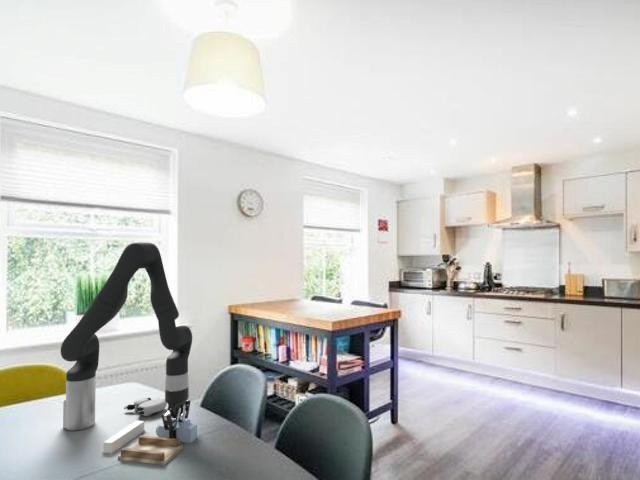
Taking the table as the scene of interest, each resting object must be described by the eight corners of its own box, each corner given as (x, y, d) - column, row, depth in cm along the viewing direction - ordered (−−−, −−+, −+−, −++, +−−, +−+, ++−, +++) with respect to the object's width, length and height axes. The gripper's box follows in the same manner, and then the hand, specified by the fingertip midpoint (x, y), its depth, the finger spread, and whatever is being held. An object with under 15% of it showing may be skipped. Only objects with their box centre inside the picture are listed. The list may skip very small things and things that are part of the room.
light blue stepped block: (153, 438, 131) (153, 421, 131) (160, 433, 135) (160, 416, 135) (190, 443, 128) (190, 425, 128) (197, 437, 132) (197, 420, 132)
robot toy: (121, 415, 152) (145, 421, 145) (121, 403, 153) (144, 408, 145) (149, 405, 163) (172, 409, 155) (149, 394, 163) (172, 397, 155)
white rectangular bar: (103, 453, 122) (103, 442, 122) (136, 430, 138) (136, 420, 138) (111, 454, 122) (111, 443, 122) (144, 431, 137) (144, 421, 137)
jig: (117, 459, 118) (117, 449, 118) (138, 444, 127) (138, 434, 127) (164, 465, 115) (164, 454, 115) (182, 448, 124) (182, 439, 124)
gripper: (178, 378, 140) (178, 427, 139) (154, 392, 126) (153, 446, 125) (197, 380, 138) (197, 428, 138) (175, 394, 124) (174, 448, 124)
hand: (176, 437), depth 131 cm, fingers closed on light blue stepped block, 4 cm apart
